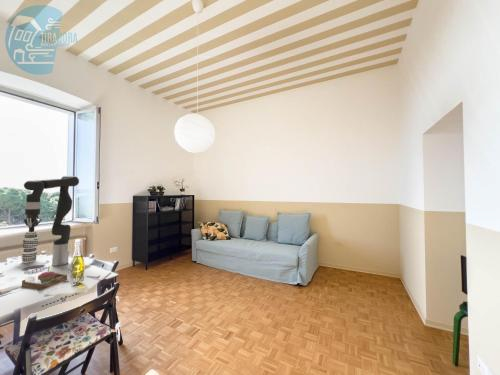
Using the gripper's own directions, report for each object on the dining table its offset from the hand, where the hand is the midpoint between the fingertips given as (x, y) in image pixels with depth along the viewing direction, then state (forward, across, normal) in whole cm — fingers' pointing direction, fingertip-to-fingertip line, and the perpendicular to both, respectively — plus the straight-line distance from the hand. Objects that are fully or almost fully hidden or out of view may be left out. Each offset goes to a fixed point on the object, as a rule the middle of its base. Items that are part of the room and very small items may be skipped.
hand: (31, 232), depth 148 cm
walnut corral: (+31, -23, +6) cm, 39 cm away
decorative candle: (+32, +33, -22) cm, 51 cm away
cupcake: (+32, -24, +6) cm, 40 cm away
